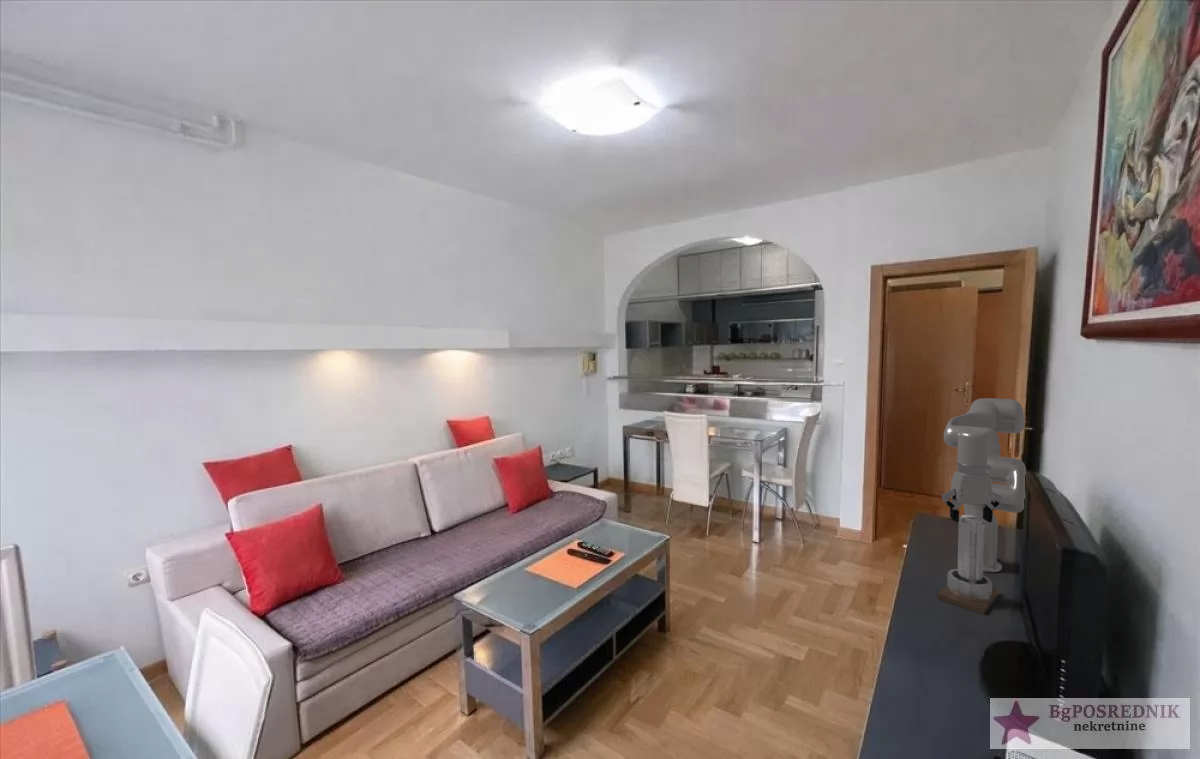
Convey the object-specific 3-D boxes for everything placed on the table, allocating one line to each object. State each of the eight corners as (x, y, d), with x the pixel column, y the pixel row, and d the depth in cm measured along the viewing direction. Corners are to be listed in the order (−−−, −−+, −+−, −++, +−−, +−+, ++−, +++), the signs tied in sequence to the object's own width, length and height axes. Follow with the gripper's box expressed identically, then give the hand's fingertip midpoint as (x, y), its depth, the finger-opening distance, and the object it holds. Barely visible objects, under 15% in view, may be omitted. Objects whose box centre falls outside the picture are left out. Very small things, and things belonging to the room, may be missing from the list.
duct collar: (955, 580, 163) (956, 562, 162) (999, 594, 153) (1000, 575, 153) (937, 598, 152) (938, 579, 151) (984, 614, 142) (984, 594, 142)
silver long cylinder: (985, 592, 151) (987, 518, 150) (977, 599, 148) (979, 522, 146) (961, 584, 157) (963, 512, 155) (953, 590, 153) (955, 516, 152)
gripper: (993, 465, 152) (992, 516, 153) (936, 466, 154) (935, 516, 156) (1010, 472, 145) (1008, 525, 146) (950, 472, 147) (949, 525, 148)
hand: (970, 520), depth 151 cm, fingers open, 9 cm apart
